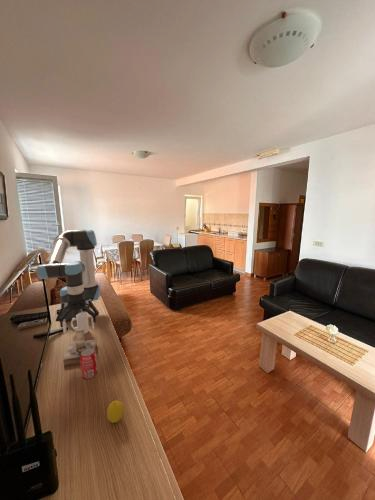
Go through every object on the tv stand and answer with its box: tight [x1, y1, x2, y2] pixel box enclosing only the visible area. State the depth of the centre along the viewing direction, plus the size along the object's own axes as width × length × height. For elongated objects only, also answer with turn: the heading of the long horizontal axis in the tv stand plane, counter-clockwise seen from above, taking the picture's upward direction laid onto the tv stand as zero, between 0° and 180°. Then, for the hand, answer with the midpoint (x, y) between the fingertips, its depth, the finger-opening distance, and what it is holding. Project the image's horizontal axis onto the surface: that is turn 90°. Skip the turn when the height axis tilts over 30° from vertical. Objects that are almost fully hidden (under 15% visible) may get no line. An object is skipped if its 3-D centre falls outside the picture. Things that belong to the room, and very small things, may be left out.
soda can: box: [79, 348, 98, 379], centre depth 98 cm, size 7×7×12 cm
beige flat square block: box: [62, 338, 98, 367], centre depth 113 cm, size 14×14×4 cm
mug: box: [70, 311, 90, 335], centre depth 134 cm, size 10×7×12 cm, turn 120°
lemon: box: [106, 400, 124, 424], centre depth 76 cm, size 6×6×8 cm
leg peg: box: [74, 329, 86, 352], centre depth 112 cm, size 4×4×14 cm
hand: (79, 330), depth 112 cm, fingers open, 13 cm apart
